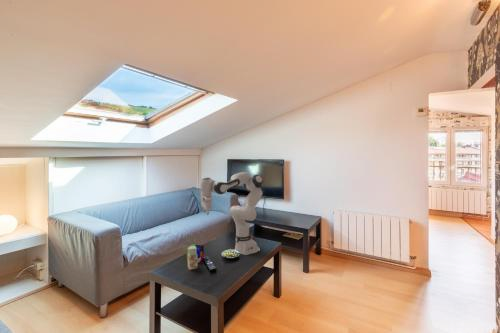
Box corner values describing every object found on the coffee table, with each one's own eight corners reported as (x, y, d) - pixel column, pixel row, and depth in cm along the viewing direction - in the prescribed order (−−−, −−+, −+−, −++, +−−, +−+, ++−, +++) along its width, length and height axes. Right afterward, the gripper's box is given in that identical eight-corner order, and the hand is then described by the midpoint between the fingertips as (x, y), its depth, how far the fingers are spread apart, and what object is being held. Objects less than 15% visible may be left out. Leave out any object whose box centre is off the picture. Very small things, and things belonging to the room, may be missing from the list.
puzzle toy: (198, 262, 196) (198, 250, 196) (186, 261, 198) (186, 249, 198) (203, 257, 206) (203, 245, 206) (192, 256, 208) (192, 244, 208)
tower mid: (195, 258, 192) (195, 252, 192) (197, 261, 187) (197, 255, 186) (187, 259, 190) (187, 253, 189) (189, 263, 184) (189, 256, 184)
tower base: (195, 264, 193) (195, 258, 192) (197, 268, 187) (197, 261, 187) (187, 266, 190) (187, 259, 190) (189, 269, 185) (189, 263, 184)
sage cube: (195, 252, 191) (195, 245, 191) (196, 254, 187) (196, 248, 186) (188, 253, 189) (188, 246, 189) (189, 256, 185) (189, 249, 184)
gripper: (199, 195, 219) (199, 211, 220) (205, 199, 201) (205, 216, 202) (206, 194, 222) (206, 210, 223) (213, 199, 203) (213, 216, 204)
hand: (206, 213), depth 212 cm, fingers open, 8 cm apart
